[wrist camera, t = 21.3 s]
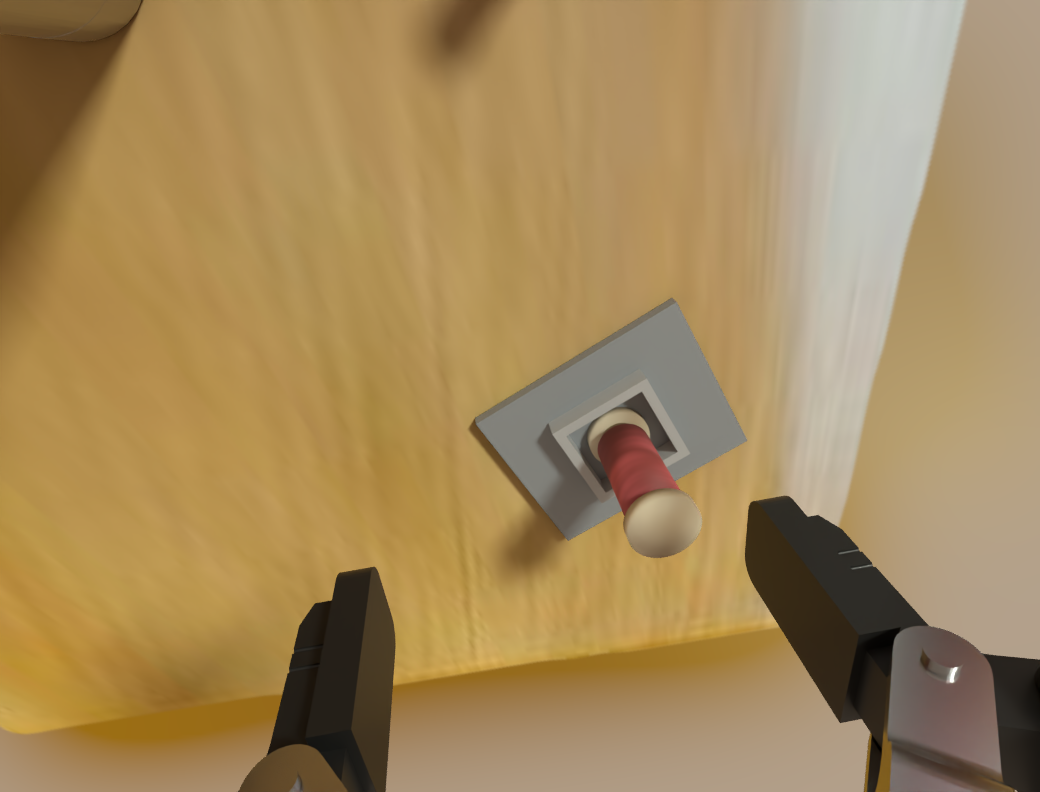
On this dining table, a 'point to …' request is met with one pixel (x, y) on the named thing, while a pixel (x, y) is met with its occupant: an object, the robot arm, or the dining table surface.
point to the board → (596, 390)
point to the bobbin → (643, 485)
